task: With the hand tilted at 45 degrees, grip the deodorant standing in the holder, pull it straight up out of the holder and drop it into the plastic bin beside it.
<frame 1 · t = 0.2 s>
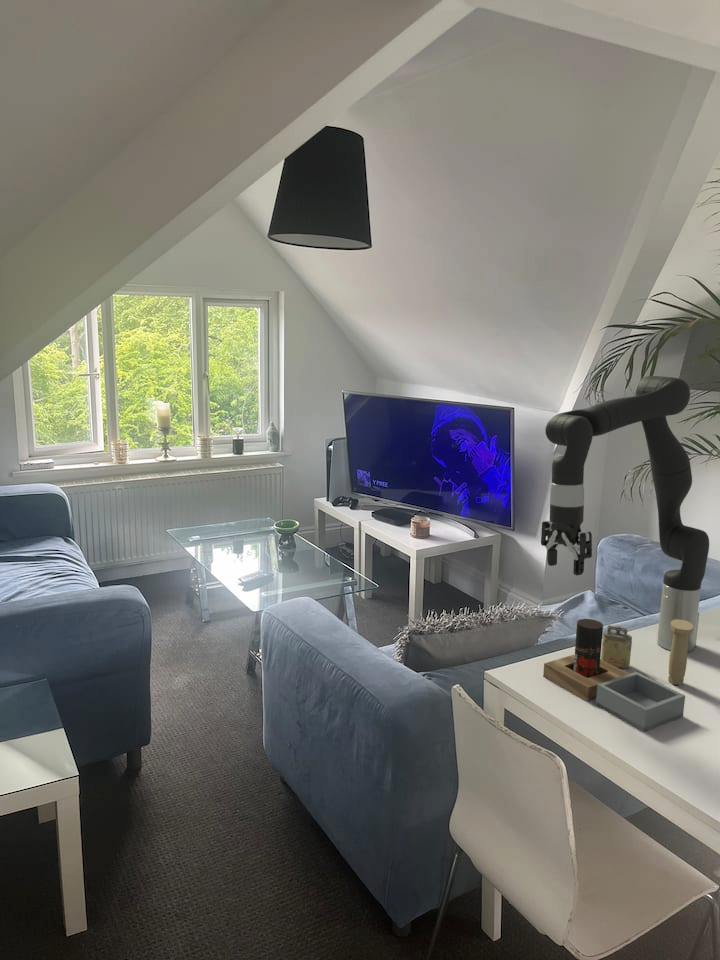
hand: (564, 569, 167), 29 cm above the table, tool pointing down, fingers open, 8 cm apart
deodorant: (585, 682, 173), resting in holder
handle: (675, 683, 174), on the table
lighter: (614, 665, 183), on the table
bin: (638, 710, 160), on the table
holder: (585, 681, 173), on the table
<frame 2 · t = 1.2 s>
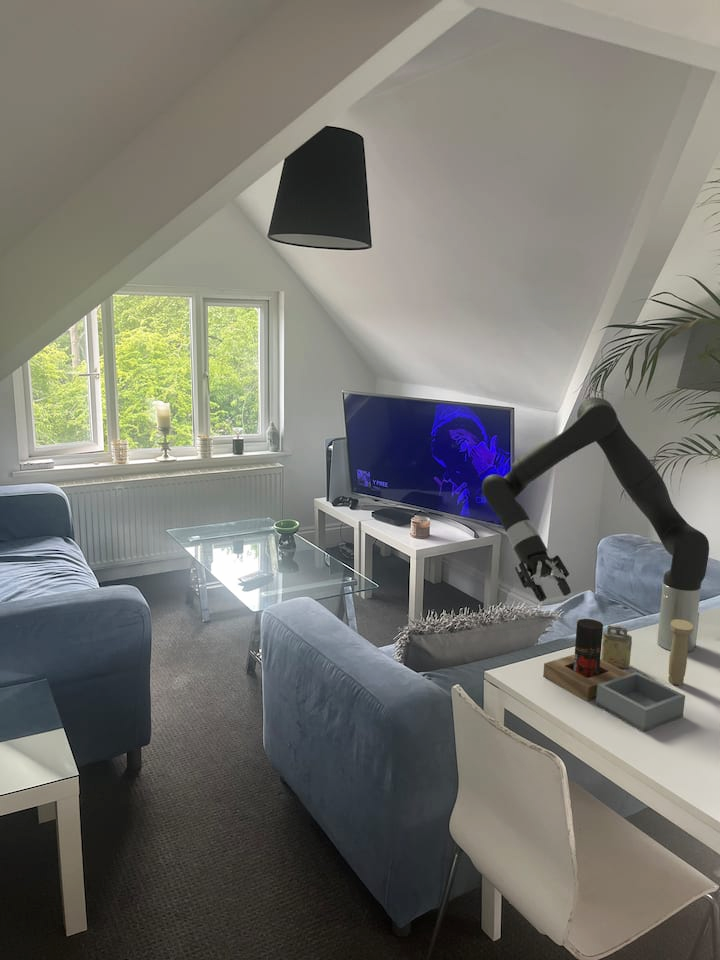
hand: (555, 597, 179), 18 cm above the table, tool tilted 45°, fingers open, 8 cm apart
nothing on the table moved.
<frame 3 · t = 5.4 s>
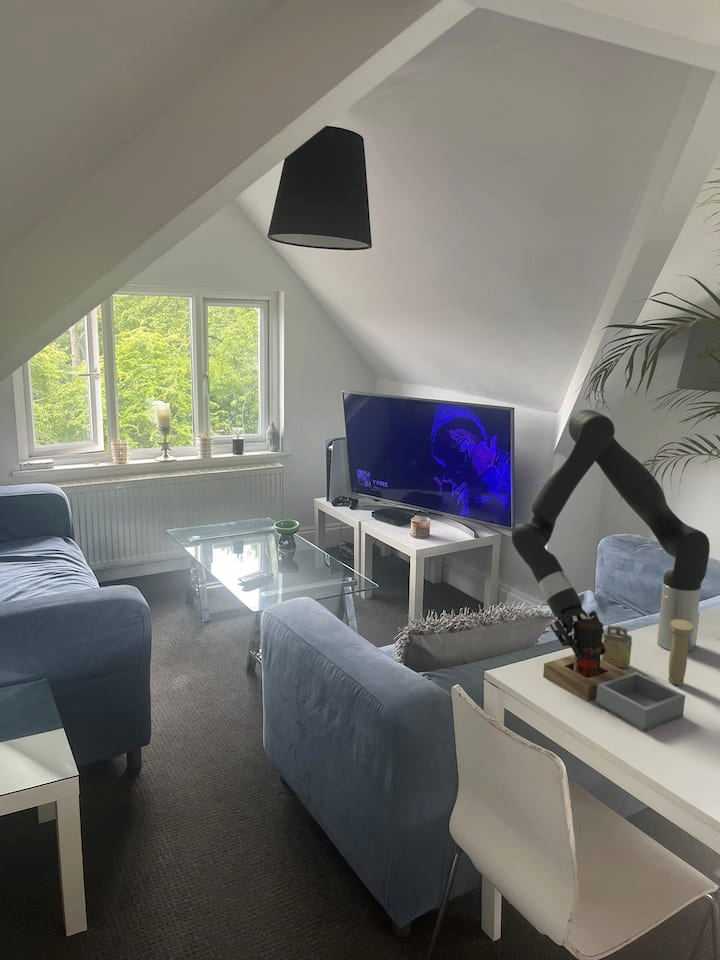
hand: (593, 656, 171), 7 cm above the table, tool tilted 45°, fingers closed on deodorant, 6 cm apart
deodorant: (585, 682, 173), resting in holder, touching gripper
everything else where it was.
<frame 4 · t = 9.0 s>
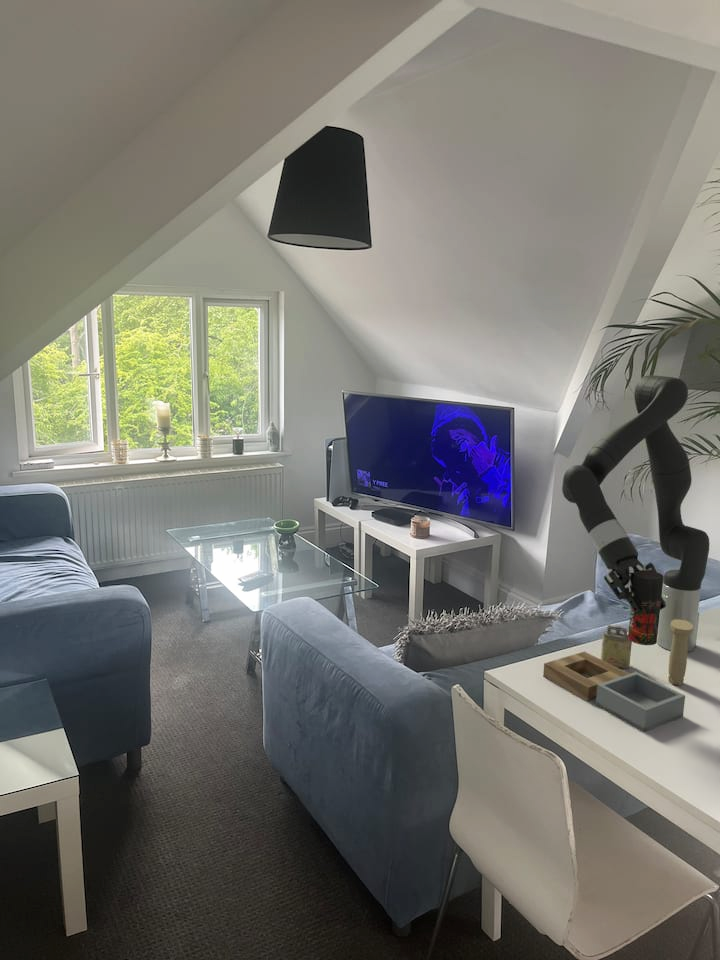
hand: (652, 610, 155), 24 cm above the table, tool tilted 45°, fingers closed on deodorant, 6 cm apart
deodorant: (642, 640, 158), point 17 cm above the table, touching gripper
everything else where it was.
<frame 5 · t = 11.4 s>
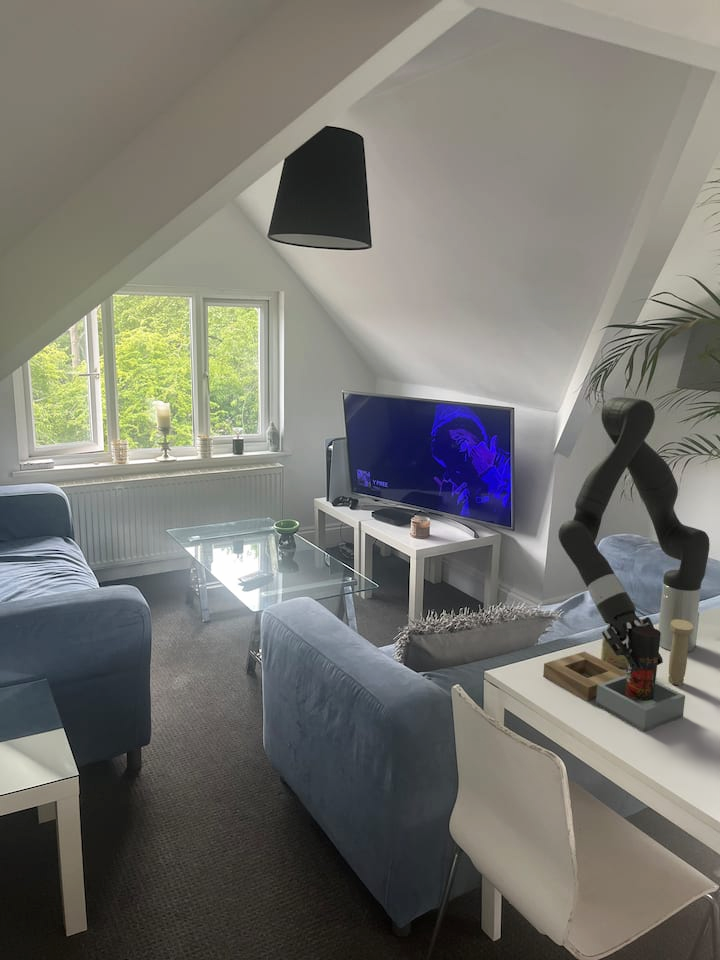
hand: (649, 667, 157), 11 cm above the table, tool tilted 45°, fingers closed on deodorant, 6 cm apart
deodorant: (639, 695, 160), point 4 cm above the table, touching gripper
everything else where it was.
when the fingers open (10 cm above the table, at t = 12.8 s): deodorant drops 1 cm, resting on bin.
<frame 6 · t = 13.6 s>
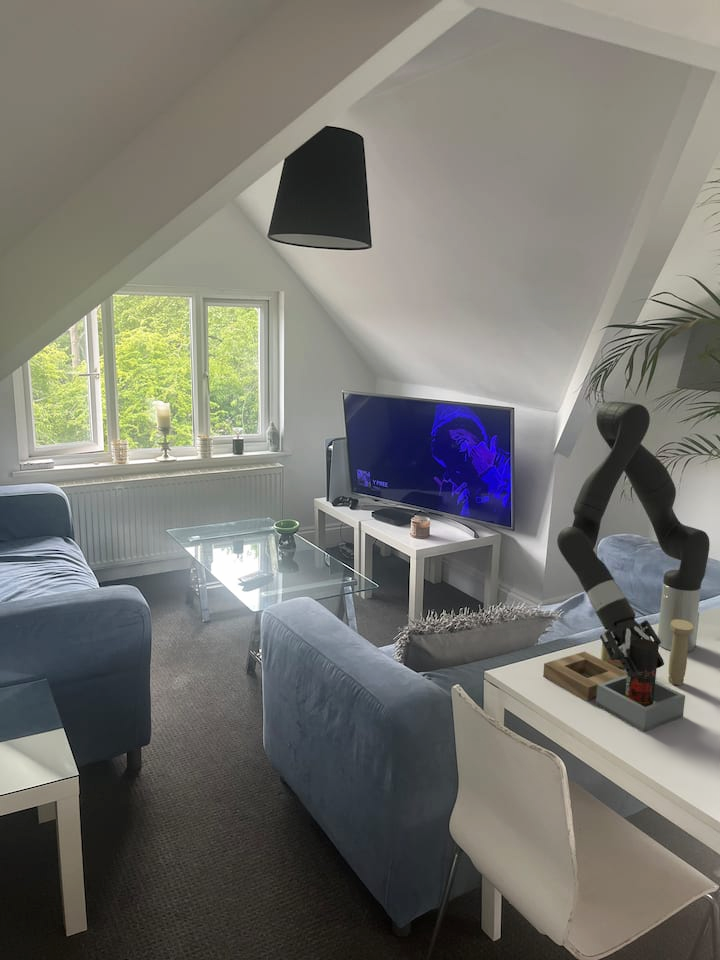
hand: (647, 670, 157), 10 cm above the table, tool tilted 45°, fingers open, 8 cm apart
deodorant: (638, 707, 160), point 1 cm above the table, touching bin
everything else where it was.
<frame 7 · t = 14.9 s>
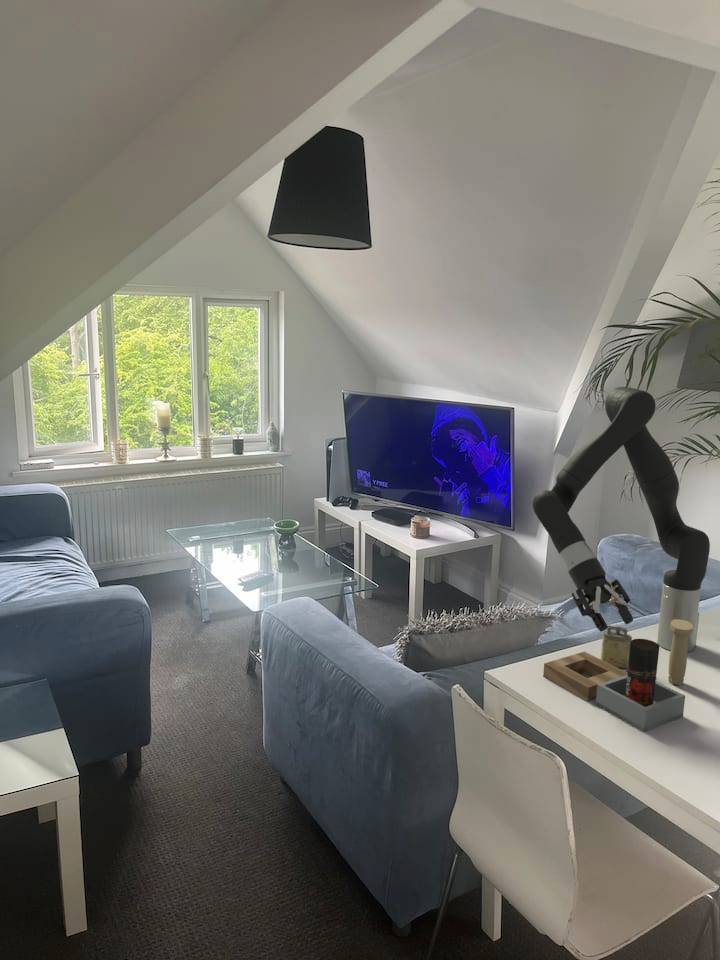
hand: (617, 626, 164), 17 cm above the table, tool tilted 45°, fingers open, 8 cm apart
nothing on the table moved.
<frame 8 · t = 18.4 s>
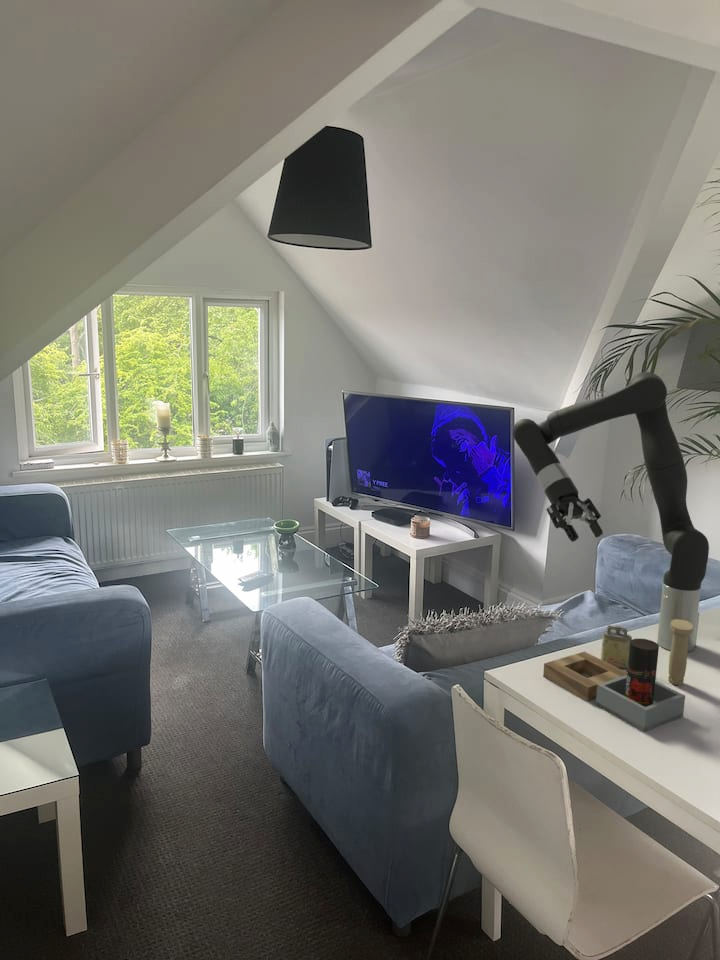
hand: (587, 537, 179), 33 cm above the table, tool tilted 45°, fingers open, 8 cm apart
nothing on the table moved.
at the end: deodorant inside the target area on the bin (0.2 cm from its centre), point 0.6 cm above the bin's base; the gripper is holding nothing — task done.
